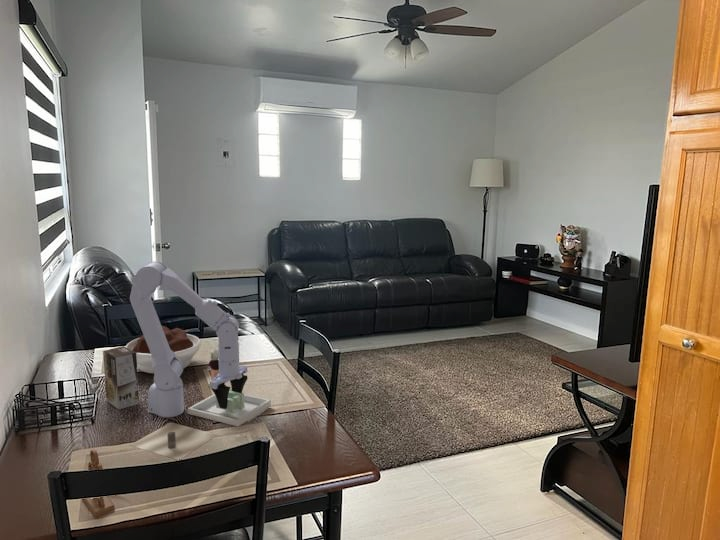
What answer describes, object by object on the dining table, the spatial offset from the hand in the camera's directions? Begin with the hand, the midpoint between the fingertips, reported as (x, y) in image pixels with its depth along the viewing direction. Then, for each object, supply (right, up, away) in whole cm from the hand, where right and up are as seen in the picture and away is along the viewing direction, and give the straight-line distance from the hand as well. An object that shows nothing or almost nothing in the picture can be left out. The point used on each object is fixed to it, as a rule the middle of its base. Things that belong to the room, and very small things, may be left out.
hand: (230, 403), depth 152 cm
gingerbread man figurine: (-17, -10, -43) cm, 47 cm away
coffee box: (-34, -1, +6) cm, 34 cm away
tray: (0, -3, 0) cm, 3 cm away
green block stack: (0, -1, 0) cm, 1 cm away
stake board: (-10, -6, -18) cm, 21 cm away
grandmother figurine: (-9, 0, +19) cm, 21 cm away
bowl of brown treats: (-32, +4, +34) cm, 47 cm away
